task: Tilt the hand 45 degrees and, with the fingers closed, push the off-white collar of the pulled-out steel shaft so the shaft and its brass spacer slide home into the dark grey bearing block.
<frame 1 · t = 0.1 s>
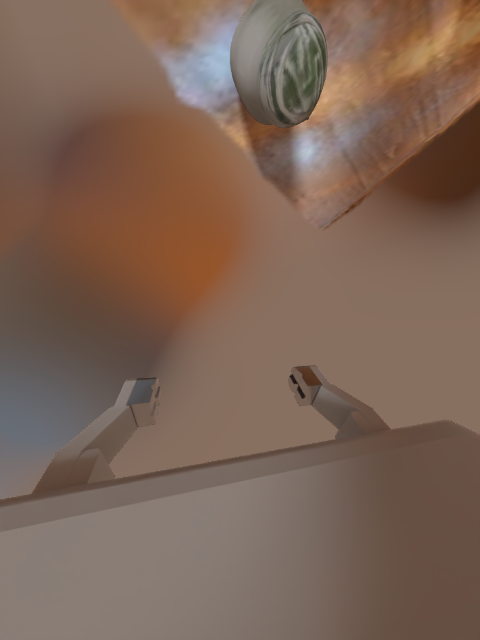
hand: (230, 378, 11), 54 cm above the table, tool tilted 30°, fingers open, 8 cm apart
glass bottle: (255, 55, 32), on the table
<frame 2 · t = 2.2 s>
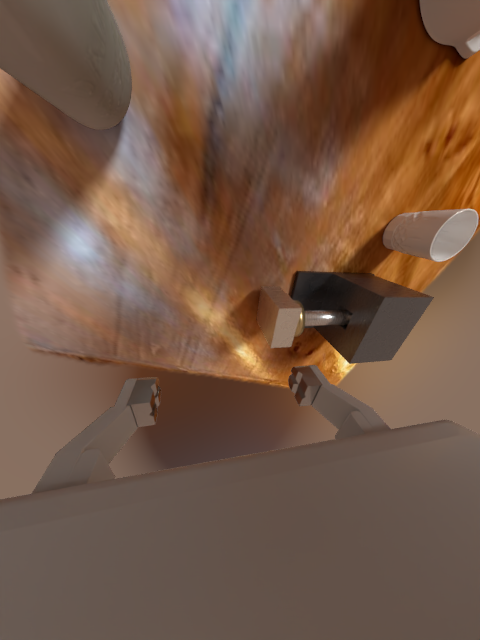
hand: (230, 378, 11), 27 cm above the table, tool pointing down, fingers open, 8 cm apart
white cup: (396, 231, 38), on the table
glass bottle: (97, 83, 21), on the table
shaft: (316, 314, 36), point 7 cm above the table, slide at 10.0 cm
bearing block: (320, 300, 43), on the table
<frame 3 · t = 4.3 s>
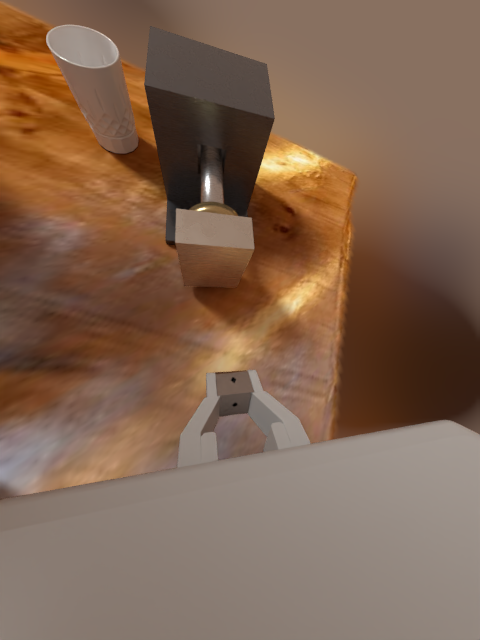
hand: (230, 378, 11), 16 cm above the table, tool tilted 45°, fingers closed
white cup: (118, 141, 32), on the table
shaft: (211, 200, 25), point 7 cm above the table, slide at 10.0 cm
bearing block: (208, 209, 33), on the table
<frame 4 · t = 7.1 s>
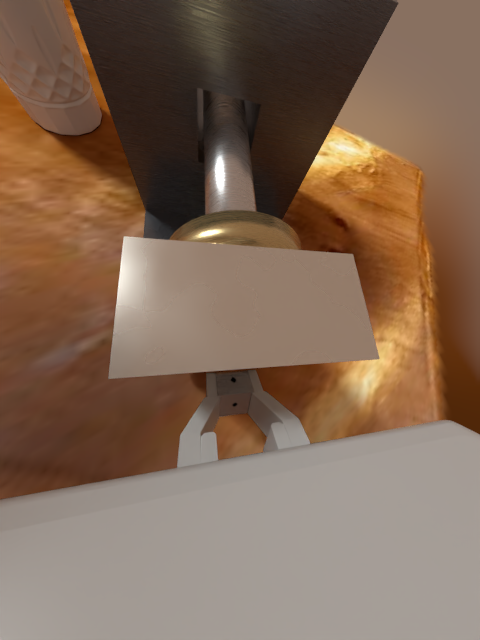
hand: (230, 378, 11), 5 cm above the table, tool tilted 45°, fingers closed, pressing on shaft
white cup: (69, 116, 20), on the table
shaft: (226, 206, 12), point 6 cm above the table, slide at 9.3 cm, touching gripper
bearing block: (216, 225, 20), on the table
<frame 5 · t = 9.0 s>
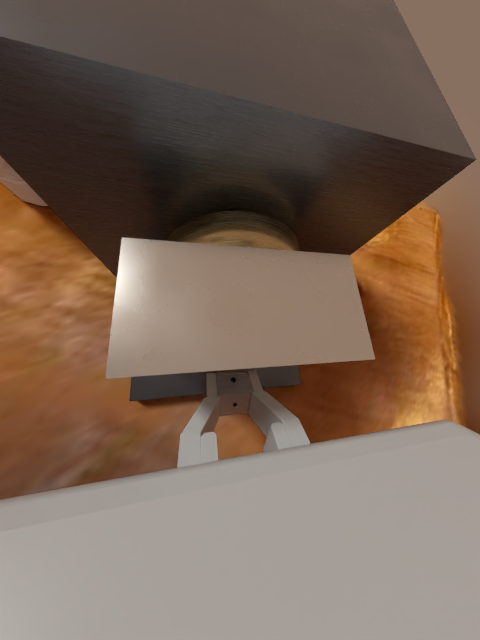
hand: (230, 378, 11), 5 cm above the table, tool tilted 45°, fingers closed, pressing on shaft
white cup: (52, 181, 17), on the table
shaft: (225, 206, 13), point 6 cm above the table, slide at 0.0 cm, touching gripper
bearing block: (219, 304, 17), on the table
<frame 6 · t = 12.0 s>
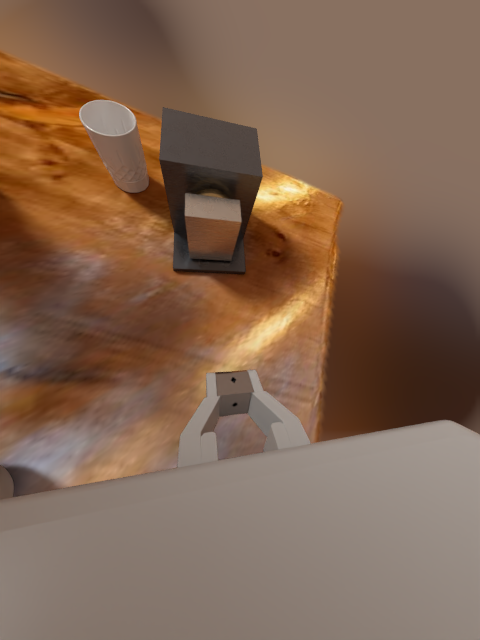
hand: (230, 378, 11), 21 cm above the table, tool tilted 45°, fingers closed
white cup: (132, 181, 38), on the table
shaft: (210, 191, 33), point 7 cm above the table, slide at 0.0 cm
bearing block: (209, 238, 38), on the table
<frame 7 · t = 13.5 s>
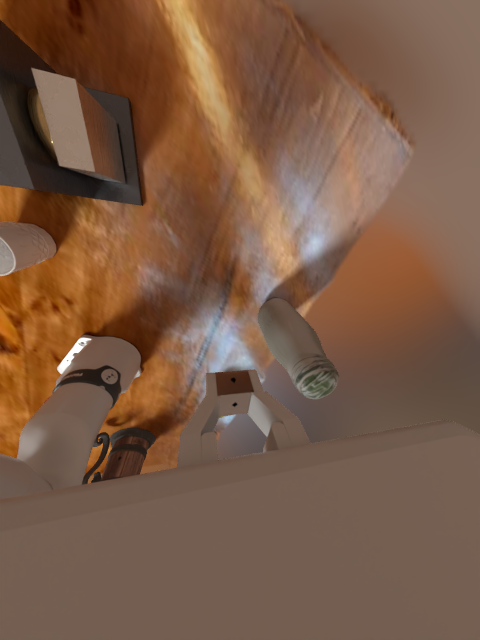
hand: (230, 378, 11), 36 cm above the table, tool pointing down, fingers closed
white cup: (37, 241, 35), on the table
glass bottle: (270, 309, 51), on the table
shaft: (13, 125, 23), point 6 cm above the table, slide at 0.0 cm
tankard: (127, 436, 71), on the table
bearing block: (85, 149, 30), on the table
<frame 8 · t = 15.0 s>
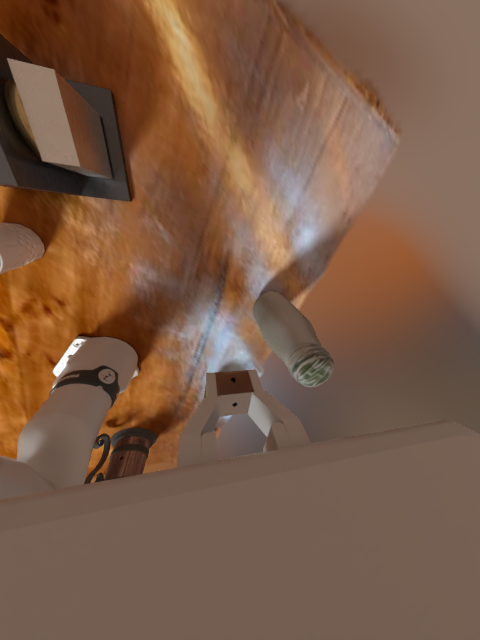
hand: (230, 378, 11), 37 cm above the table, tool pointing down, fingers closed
white cup: (23, 242, 35), on the table
glass bottle: (265, 302, 52), on the table
tankard: (128, 436, 71), on the table
bearing block: (69, 144, 29), on the table
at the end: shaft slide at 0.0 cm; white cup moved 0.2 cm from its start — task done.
